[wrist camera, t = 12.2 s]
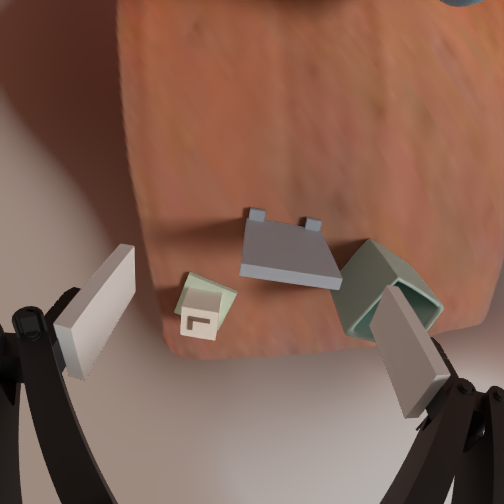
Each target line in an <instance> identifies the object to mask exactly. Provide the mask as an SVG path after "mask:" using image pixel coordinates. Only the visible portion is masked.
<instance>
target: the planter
mask: <svg viewBox="0 0 504 504" xmlns="http://www.w3.org/2000/svg"><path fill="white" fill-rule="evenodd" d="M340 273H341V276H342V278H343V280H342V283H341V286H340V289H339V290H334V289H329V290H330V293H331V295H332V298H333V301H334V304H335V307H336V310H337V313H338V316H339V319H340V322H341V325H342V328H343V330H344V333H345V335H347V336H350V337H355V338H359V339H363V340H367V341H371V342H376V341H375V339H374V336H373V334H372V331H371V329H370V326H369V325H370V323H371V321H372V318H373V316H374V314H375V312H376V309H377V307H378V304H379V302H380V300H381V297H382V295H383V292H384V290H385V287H386V285H390V286H397V287H399V289H400V290H401V292H402V293H403V295H404V296H405V298H406V299H407V301H408V302H409V304H410V306H411V307H412V309H413V310H414V312H415V314H416V315H417V317H418V319H419V320H420V322H421V323H422V325H423V327H424V328H425V330H426V332H427V330H428V329H429V328H430V327H431V325H432V324H433V323H434V321H435V320H436V319H437V317H438V316H439V315H440V313H441V312H442V310H443V305H442V304H441V303H440V301H439V300H438V298H437V297H436V296H435V295H434V293H433V292H432V291H431V290H430V288H429V287H428V286H427V285H426V283H425V282H424V281H423V280H422V278H421V277H420V276H419V275H418V273H417V272H416V271H415V270H414V269H413V267H412V266H411V265H410V264H409V263H407V262H406V261H404V260H403V259H401V258H400V257H398V256H397V255H395V254H394V253H392V252H391V251H390V250H388V249H387V248H385V247H384V246H382V245H381V244H379V243H377V242H375V241H374V240H372V239H370V238H369V239H367V240H366V241H365V243H364V244H363V245H362V246H361V247H360V248H359V249H358V250H357V251H356V252H355V254H354V255H353V256H352V257H351V258H350V260H349V261H348V262H347V263H346V265H345V266H344V267H343V268H342V270H341V271H340Z"/></svg>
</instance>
